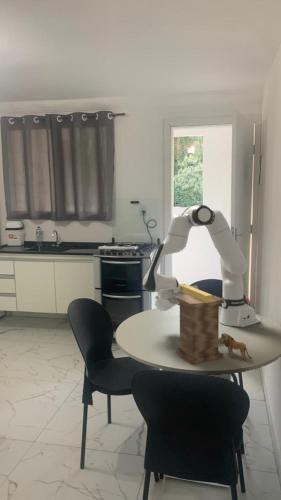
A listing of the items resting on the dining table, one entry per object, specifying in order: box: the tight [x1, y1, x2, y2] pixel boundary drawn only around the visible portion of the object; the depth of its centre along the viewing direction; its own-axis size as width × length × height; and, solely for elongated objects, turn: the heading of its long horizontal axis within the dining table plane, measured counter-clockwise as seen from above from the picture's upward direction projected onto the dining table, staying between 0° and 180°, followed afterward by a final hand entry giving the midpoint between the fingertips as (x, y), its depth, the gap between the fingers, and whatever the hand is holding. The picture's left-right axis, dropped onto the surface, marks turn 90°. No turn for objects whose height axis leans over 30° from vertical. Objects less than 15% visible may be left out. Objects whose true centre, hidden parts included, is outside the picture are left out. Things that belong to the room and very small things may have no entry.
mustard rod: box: [178, 283, 213, 303], centre depth 174 cm, size 3×24×3 cm, turn 23°
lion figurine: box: [219, 333, 253, 361], centre depth 172 cm, size 15×5×9 cm, turn 52°
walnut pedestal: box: [174, 292, 224, 365], centre depth 172 cm, size 16×14×26 cm
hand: (184, 287), depth 181 cm, fingers closed on mustard rod, 3 cm apart
